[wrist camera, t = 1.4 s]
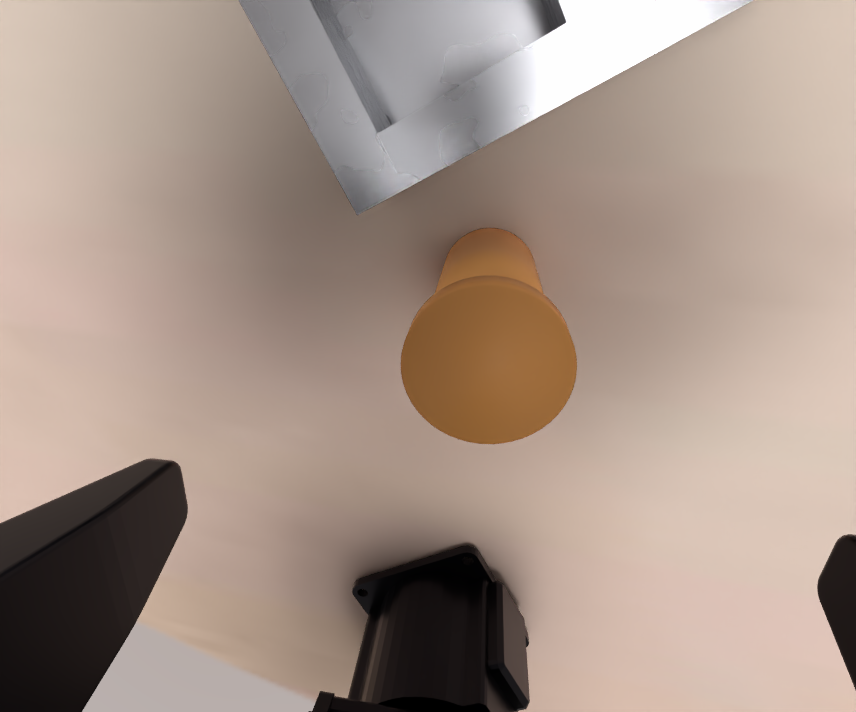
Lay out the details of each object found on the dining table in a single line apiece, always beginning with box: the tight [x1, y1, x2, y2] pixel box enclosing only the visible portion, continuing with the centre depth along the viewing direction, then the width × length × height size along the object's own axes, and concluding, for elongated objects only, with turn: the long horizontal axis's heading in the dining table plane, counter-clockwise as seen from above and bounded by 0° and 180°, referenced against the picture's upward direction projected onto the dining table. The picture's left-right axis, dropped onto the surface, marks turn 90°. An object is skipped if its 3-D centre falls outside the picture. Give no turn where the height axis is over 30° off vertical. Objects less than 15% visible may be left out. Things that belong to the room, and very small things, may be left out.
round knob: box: [401, 228, 577, 444], centre depth 15 cm, size 4×4×8 cm
